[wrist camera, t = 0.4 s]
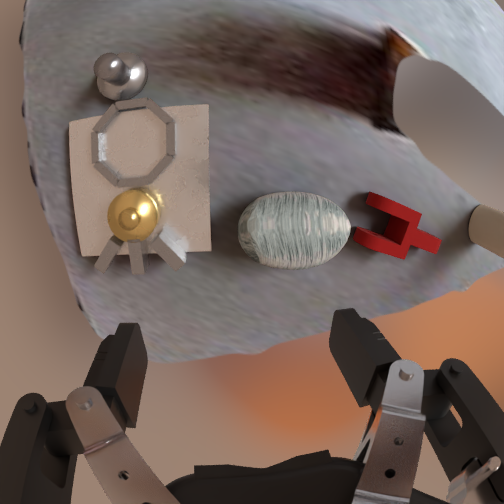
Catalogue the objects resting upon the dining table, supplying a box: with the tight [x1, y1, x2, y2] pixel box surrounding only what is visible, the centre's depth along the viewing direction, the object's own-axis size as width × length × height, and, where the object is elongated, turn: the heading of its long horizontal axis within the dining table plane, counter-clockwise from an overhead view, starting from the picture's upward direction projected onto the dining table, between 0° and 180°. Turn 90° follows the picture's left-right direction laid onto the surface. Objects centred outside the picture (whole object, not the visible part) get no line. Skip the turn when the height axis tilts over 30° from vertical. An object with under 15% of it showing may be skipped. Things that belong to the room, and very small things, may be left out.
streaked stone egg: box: [238, 191, 351, 270], centre depth 35 cm, size 14×10×10 cm
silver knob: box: [94, 53, 148, 101], centre depth 25 cm, size 6×6×7 cm
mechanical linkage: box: [353, 192, 442, 259], centre depth 38 cm, size 16×7×5 cm, turn 73°
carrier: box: [69, 98, 211, 274], centre depth 31 cm, size 21×18×6 cm
